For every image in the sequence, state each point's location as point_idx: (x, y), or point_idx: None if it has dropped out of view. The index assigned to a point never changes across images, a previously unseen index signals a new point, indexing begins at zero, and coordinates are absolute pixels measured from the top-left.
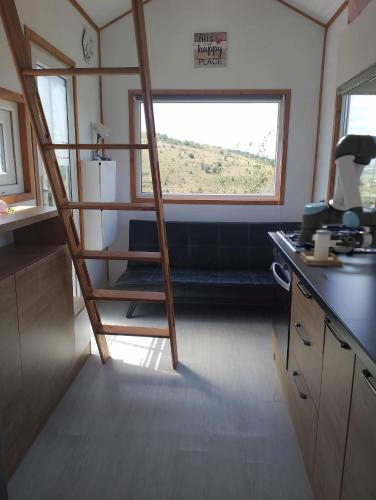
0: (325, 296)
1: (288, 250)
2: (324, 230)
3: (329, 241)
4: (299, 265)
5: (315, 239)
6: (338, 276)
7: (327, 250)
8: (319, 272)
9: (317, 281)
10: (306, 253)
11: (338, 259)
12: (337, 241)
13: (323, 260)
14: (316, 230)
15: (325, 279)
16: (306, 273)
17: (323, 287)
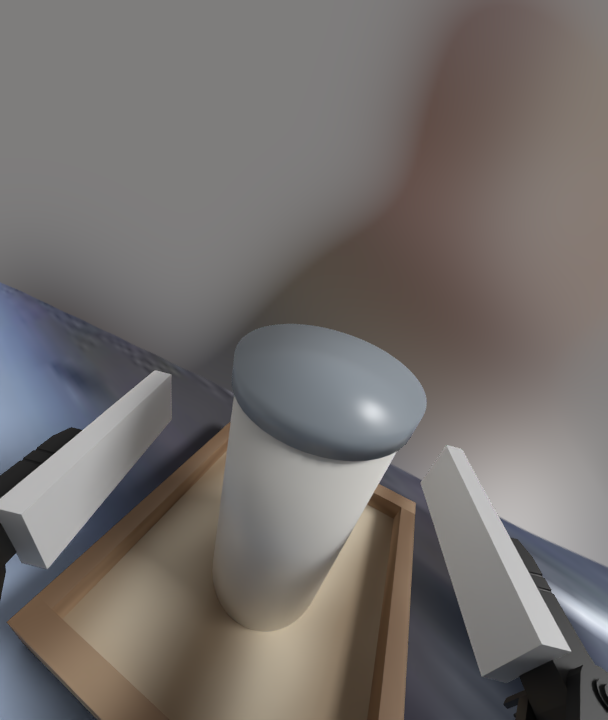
0: (10, 293)
1: (556, 564)
2: (385, 401)
3: (158, 375)
4: None
5: (431, 499)
6: (3, 420)
7: (219, 517)
8: None
9: (82, 340)
10: (396, 533)
11: (93, 662)
12: (78, 440)
13: (184, 477)
14: (379, 348)
15: (61, 363)
16: (162, 367)
17: (39, 321)
